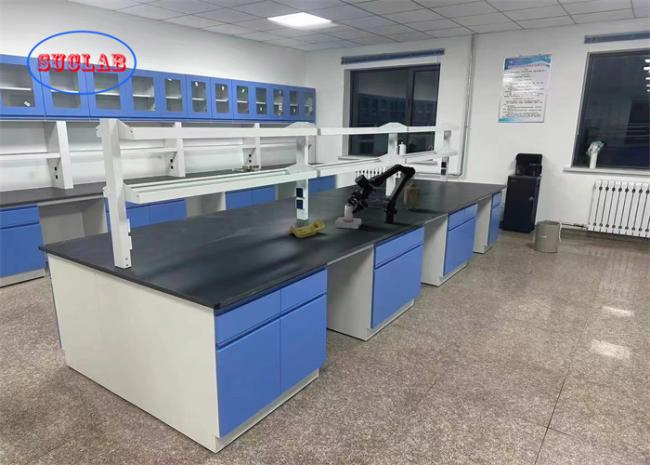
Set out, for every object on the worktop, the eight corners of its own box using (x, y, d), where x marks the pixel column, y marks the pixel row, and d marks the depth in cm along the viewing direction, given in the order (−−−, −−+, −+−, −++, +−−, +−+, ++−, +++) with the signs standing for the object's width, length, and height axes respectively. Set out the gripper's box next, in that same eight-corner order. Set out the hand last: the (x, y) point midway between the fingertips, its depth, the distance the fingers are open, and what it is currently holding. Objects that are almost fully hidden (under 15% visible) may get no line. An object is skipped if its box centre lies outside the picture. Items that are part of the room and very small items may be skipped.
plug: (347, 222, 268) (348, 203, 265) (354, 224, 264) (354, 204, 261) (342, 224, 264) (343, 204, 261) (348, 225, 261) (349, 205, 258)
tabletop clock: (418, 211, 312) (420, 177, 306) (405, 211, 312) (408, 177, 306) (414, 208, 326) (417, 175, 320) (402, 207, 326) (405, 175, 320)
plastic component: (299, 234, 232) (289, 224, 237) (297, 245, 236) (287, 234, 241) (328, 227, 243) (318, 217, 249) (325, 237, 248) (315, 227, 253)
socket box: (339, 222, 273) (339, 215, 272) (361, 224, 270) (361, 217, 269) (334, 227, 259) (335, 220, 258) (357, 229, 256) (358, 222, 255)
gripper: (350, 182, 269) (334, 200, 267) (364, 186, 252) (347, 206, 251) (360, 194, 274) (344, 212, 272) (375, 199, 257) (358, 218, 256)
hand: (348, 211), depth 262 cm, fingers open, 9 cm apart
